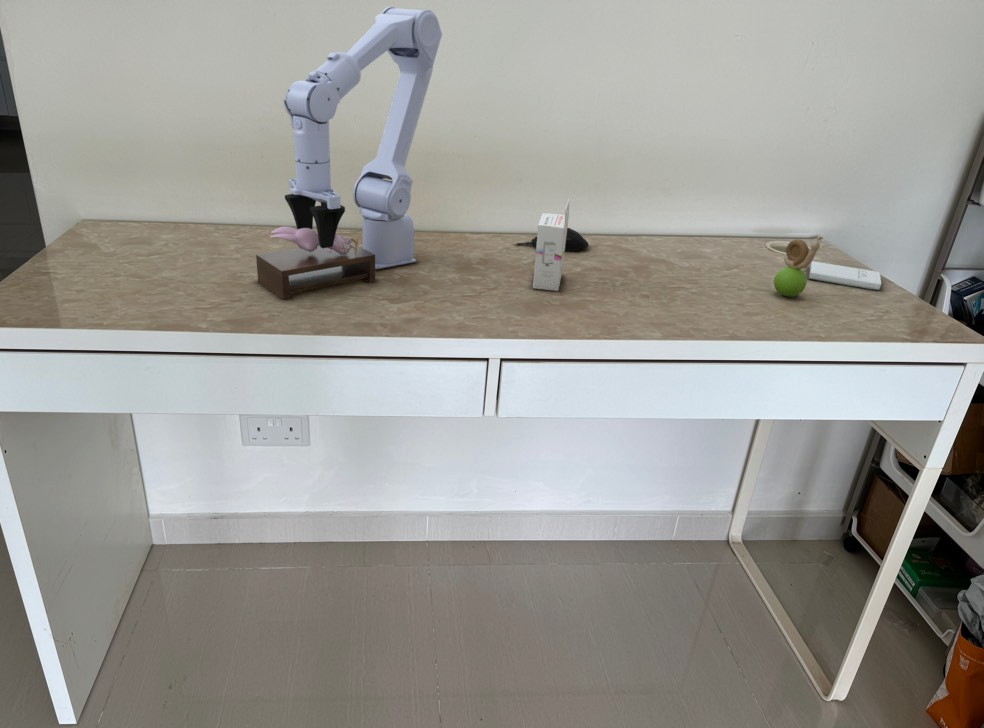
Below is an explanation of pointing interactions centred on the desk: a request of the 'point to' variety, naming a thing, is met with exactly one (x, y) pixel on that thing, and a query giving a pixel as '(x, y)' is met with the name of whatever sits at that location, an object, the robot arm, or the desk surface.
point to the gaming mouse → (567, 241)
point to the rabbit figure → (313, 239)
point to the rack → (312, 269)
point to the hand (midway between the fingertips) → (315, 241)
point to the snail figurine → (795, 268)
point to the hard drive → (845, 275)
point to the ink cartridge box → (550, 250)
